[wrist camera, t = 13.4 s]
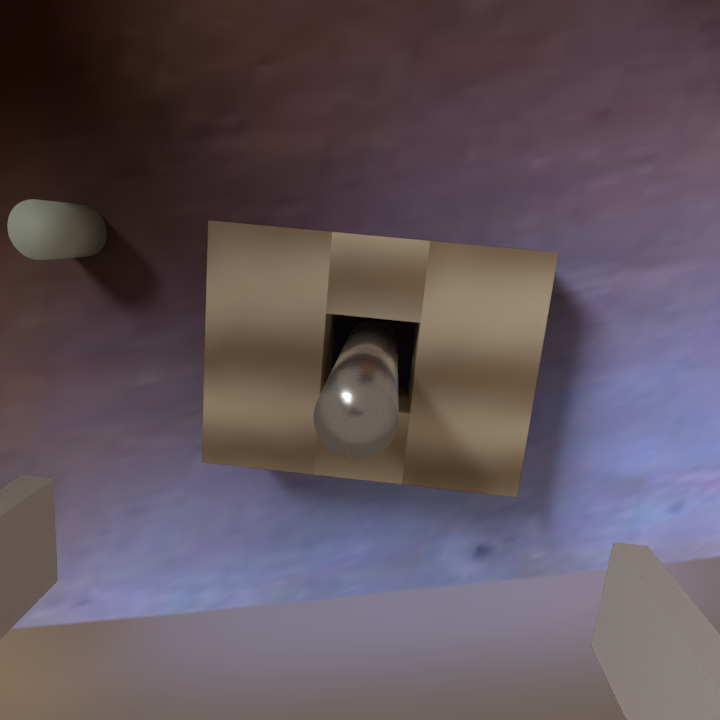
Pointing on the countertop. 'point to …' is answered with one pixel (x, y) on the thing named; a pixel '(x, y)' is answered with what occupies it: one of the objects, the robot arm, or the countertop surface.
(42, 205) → the grey-green rounded piece
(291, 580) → the countertop surface
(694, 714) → the robot arm
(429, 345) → the hole block
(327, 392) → the long steel pin
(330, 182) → the countertop surface
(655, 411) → the countertop surface
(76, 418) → the countertop surface
